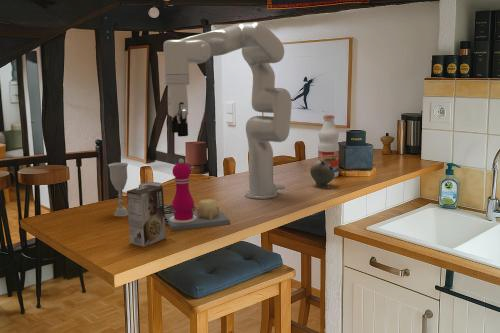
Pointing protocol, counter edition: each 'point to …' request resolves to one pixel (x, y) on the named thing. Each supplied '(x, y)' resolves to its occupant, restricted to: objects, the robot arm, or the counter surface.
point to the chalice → (119, 183)
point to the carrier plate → (200, 217)
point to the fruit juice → (329, 144)
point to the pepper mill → (182, 192)
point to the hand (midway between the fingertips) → (179, 134)
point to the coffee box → (146, 215)
